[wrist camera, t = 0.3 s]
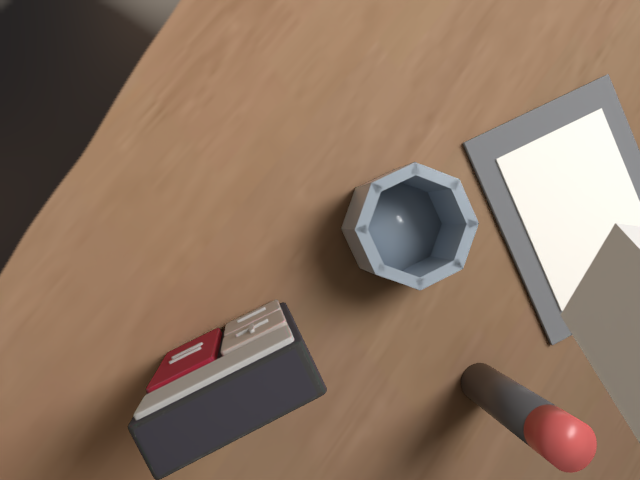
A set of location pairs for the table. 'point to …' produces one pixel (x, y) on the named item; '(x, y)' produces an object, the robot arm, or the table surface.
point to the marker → (531, 418)
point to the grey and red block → (224, 388)
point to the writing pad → (560, 190)
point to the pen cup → (410, 225)
